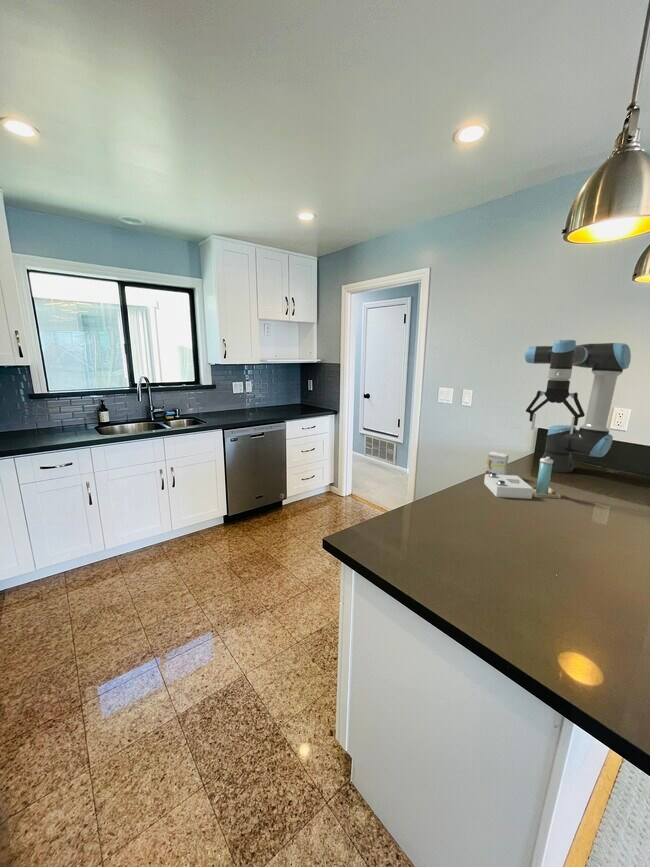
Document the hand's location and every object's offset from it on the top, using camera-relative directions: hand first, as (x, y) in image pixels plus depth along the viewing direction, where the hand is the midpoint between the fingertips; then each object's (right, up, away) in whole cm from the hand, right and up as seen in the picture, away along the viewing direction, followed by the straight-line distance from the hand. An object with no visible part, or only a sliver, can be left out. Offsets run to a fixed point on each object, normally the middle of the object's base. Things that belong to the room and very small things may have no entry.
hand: (551, 431), depth 145 cm
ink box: (-10, -22, +28) cm, 37 cm away
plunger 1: (-18, -24, +14) cm, 33 cm away
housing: (-14, -26, +9) cm, 31 cm away
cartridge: (0, -27, +6) cm, 27 cm away
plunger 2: (-19, -26, +4) cm, 33 cm away
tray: (0, -27, +6) cm, 28 cm away
